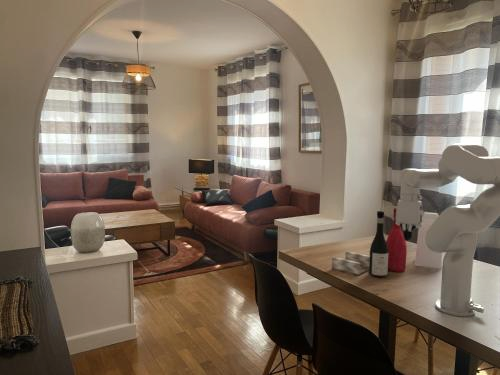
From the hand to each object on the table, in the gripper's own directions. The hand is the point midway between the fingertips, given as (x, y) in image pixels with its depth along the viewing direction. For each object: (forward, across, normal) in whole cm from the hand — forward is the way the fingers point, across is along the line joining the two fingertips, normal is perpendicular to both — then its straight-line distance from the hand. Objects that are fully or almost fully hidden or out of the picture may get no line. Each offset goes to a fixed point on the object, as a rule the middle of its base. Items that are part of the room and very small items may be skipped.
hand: (407, 239), depth 162 cm
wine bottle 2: (+20, +10, -14) cm, 26 cm away
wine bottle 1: (+20, +12, 0) cm, 23 cm away
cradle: (+19, +25, 0) cm, 32 cm away
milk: (+20, +2, -34) cm, 39 cm away
